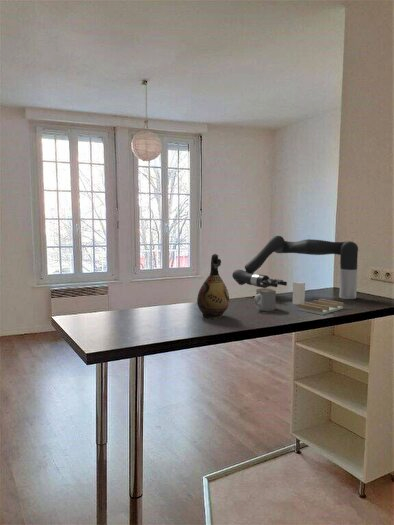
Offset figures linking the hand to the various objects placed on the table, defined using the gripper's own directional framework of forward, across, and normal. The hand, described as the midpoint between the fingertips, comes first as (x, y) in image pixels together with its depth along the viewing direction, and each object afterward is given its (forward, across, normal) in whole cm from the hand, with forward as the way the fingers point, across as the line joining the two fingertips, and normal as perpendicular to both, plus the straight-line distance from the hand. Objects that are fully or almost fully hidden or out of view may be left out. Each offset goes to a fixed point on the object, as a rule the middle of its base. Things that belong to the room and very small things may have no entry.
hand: (281, 284), depth 228 cm
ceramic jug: (+1, -54, +10) cm, 55 cm away
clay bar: (+12, 0, +9) cm, 15 cm away
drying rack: (+27, -2, +9) cm, 28 cm away
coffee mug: (+7, -24, +10) cm, 27 cm away
